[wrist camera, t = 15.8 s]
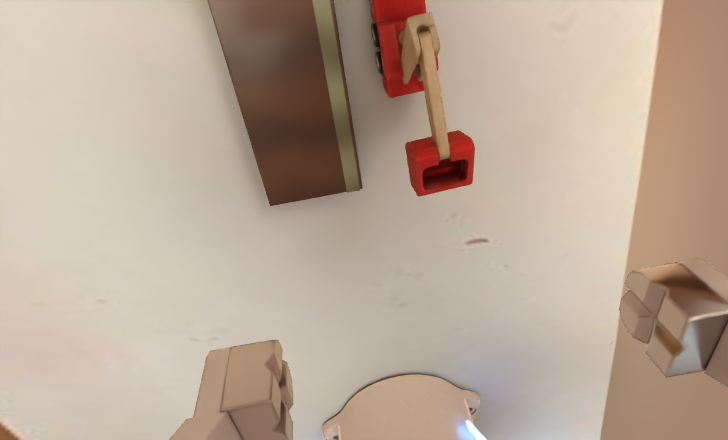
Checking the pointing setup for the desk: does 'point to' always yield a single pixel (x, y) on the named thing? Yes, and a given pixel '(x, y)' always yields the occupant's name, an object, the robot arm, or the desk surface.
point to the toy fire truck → (414, 74)
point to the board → (291, 94)
